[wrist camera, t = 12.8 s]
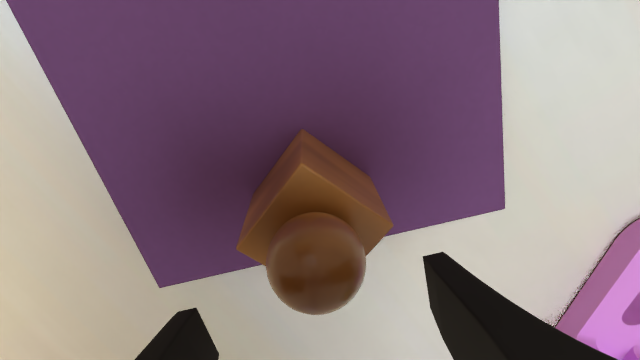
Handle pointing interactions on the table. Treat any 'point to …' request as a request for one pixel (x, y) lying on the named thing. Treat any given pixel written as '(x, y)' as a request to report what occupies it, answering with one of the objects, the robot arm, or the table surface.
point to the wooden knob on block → (314, 226)
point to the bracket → (610, 301)
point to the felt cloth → (273, 108)
